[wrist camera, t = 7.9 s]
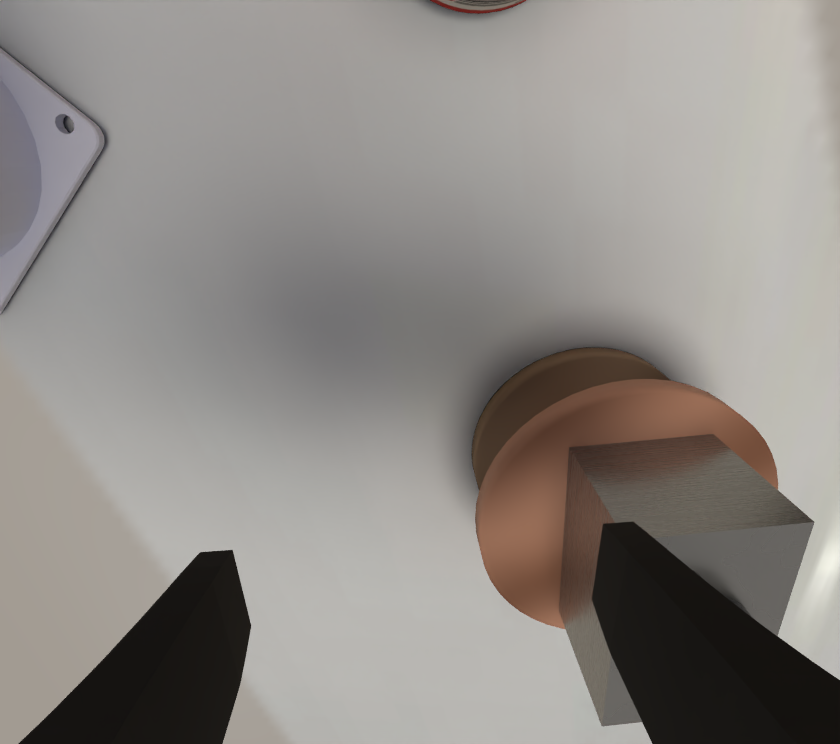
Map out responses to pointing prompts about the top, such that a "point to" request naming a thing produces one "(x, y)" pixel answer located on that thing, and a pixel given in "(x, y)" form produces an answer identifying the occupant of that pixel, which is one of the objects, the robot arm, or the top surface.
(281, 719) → the top surface
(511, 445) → the stand
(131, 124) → the top surface
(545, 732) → the top surface
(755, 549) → the block
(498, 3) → the beverage can
